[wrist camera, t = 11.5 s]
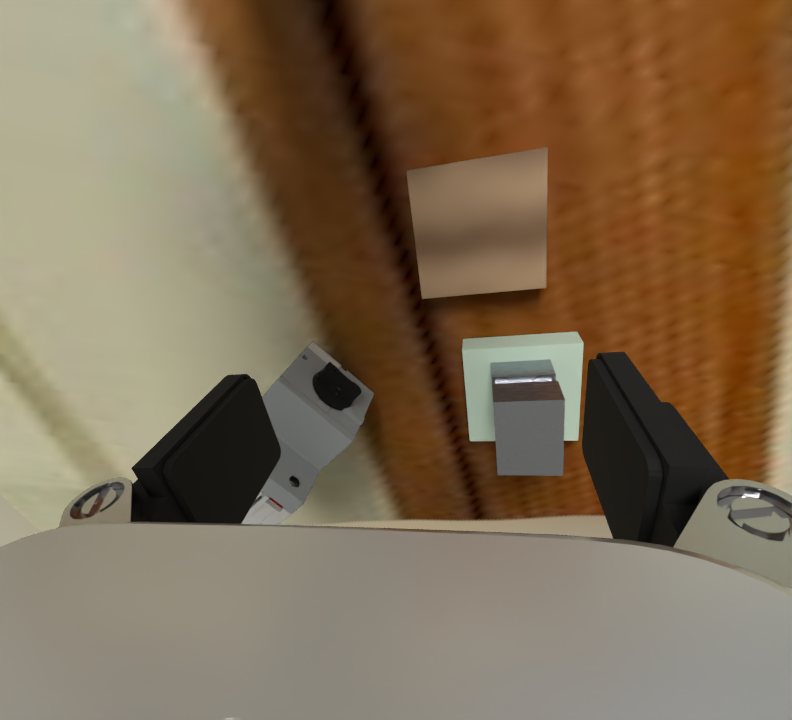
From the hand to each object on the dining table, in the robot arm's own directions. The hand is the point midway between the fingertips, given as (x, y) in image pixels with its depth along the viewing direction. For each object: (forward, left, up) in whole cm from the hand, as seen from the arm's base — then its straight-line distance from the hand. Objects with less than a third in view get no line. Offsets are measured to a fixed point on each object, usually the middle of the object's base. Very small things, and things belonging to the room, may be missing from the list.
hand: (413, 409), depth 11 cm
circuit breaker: (+13, -15, -26) cm, 33 cm away
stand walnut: (-1, +2, -26) cm, 26 cm away
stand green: (+14, +5, -26) cm, 30 cm away
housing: (+14, +5, -23) cm, 27 cm away
